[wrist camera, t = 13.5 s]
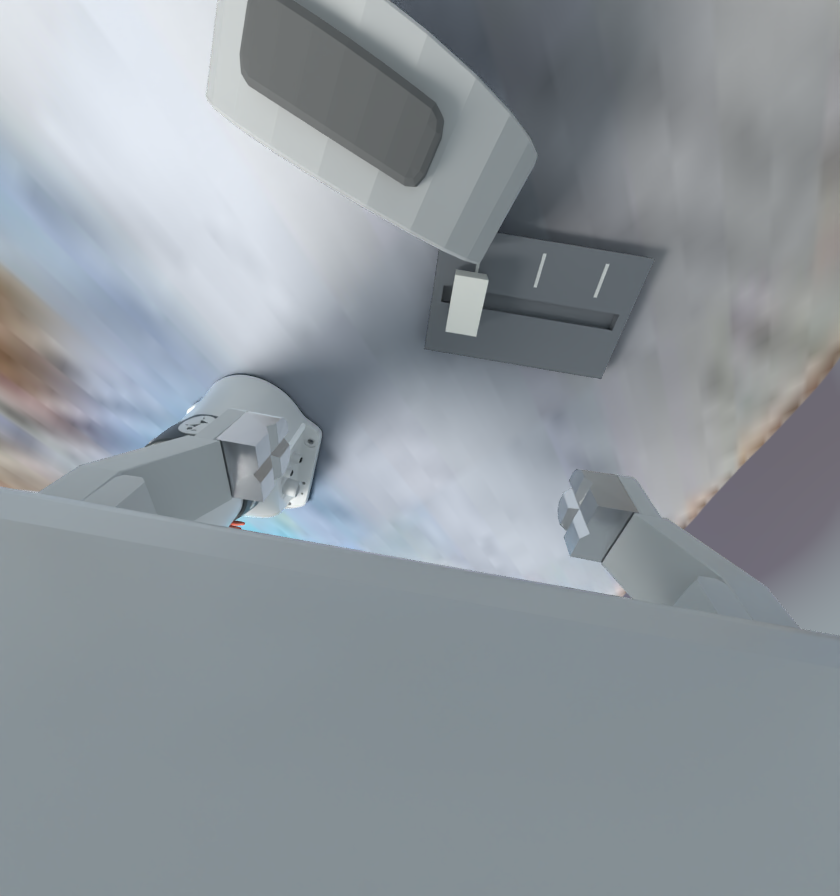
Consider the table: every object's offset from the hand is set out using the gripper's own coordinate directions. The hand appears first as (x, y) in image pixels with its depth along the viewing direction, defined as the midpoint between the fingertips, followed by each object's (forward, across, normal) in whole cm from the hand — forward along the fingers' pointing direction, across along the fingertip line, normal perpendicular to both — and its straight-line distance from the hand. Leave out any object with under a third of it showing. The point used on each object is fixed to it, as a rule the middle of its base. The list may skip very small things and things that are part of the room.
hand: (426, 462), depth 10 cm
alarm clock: (+34, -7, +10) cm, 36 cm away
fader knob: (+32, +1, -1) cm, 32 cm away
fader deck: (+33, +8, -1) cm, 34 cm away
